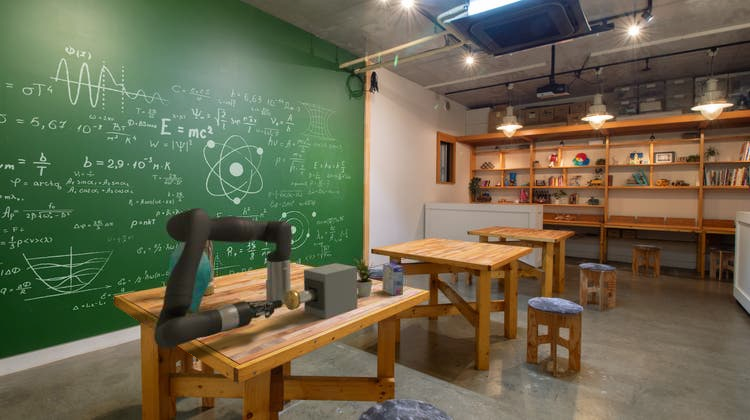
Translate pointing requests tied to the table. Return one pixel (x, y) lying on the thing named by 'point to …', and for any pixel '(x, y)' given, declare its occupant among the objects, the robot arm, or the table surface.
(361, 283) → the house plant
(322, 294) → the collar
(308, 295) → the peg
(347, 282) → the housing
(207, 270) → the crystal
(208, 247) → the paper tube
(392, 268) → the ink cartridge box
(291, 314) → the table surface
